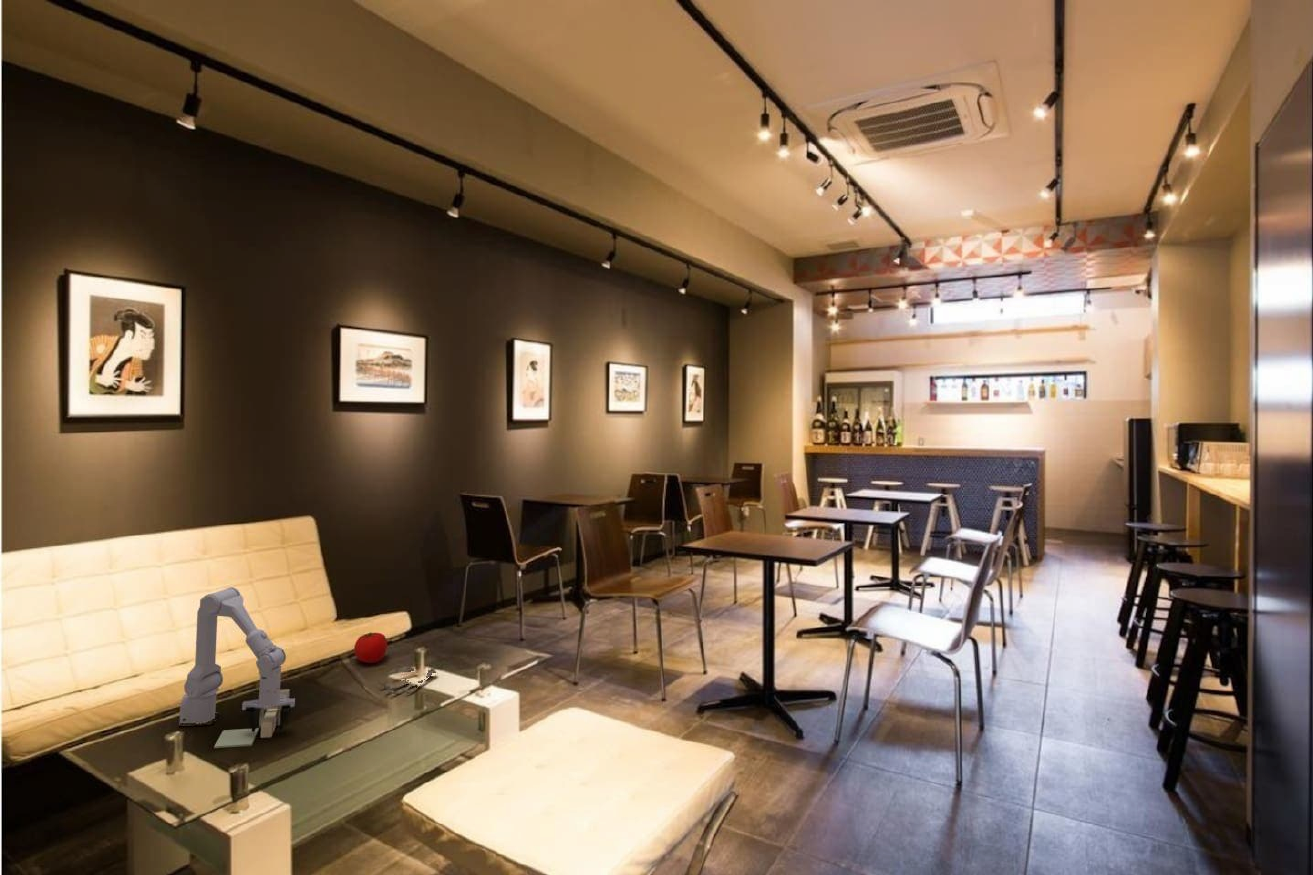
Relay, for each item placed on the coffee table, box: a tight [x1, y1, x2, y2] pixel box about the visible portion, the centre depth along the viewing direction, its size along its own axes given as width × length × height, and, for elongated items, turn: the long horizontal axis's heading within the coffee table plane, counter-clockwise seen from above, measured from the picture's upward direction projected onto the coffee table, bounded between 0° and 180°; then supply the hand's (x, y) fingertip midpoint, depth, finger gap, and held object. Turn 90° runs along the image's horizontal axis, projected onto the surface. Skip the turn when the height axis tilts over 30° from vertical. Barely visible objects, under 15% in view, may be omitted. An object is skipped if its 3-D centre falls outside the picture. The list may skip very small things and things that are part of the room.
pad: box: [213, 727, 260, 749], centre depth 218 cm, size 10×10×1 cm
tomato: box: [353, 631, 388, 664], centre depth 285 cm, size 12×14×11 cm
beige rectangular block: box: [260, 709, 278, 739], centre depth 225 cm, size 3×10×5 cm, turn 19°
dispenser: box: [258, 688, 291, 728], centre depth 233 cm, size 7×12×7 cm, turn 19°
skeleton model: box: [376, 666, 437, 695], centre depth 266 cm, size 24×13×5 cm, turn 166°
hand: (267, 729), depth 223 cm, fingers open, 7 cm apart
